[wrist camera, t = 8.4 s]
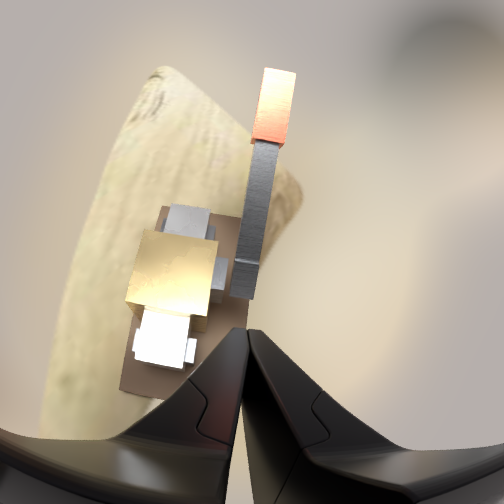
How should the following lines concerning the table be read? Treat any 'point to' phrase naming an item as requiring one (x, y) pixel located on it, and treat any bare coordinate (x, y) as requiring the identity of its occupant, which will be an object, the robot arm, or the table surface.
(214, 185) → the table surface
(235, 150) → the table surface
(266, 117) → the lever
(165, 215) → the board
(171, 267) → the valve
